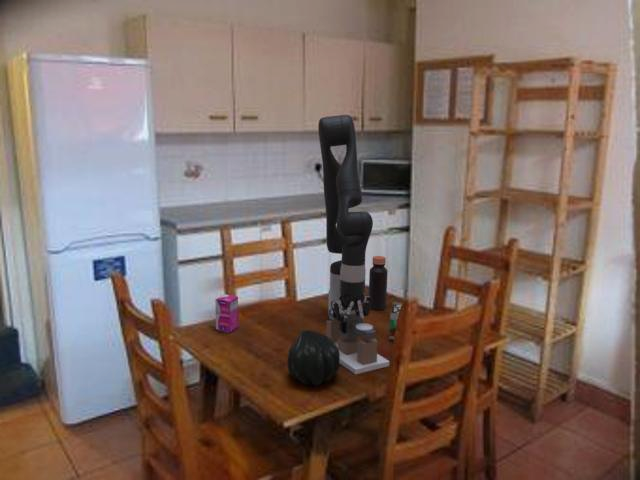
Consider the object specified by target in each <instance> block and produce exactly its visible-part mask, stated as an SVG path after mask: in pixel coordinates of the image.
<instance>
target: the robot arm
mask: <svg viewBox="0 0 640 480" xmlns="http://www.w3.org/2000/svg"><path fill="white" fill-rule="evenodd" d="M317 127H318V137H319V144H320V153H321V160H322V177H323V179H322V180H323V182H322V183H323V194H324V195H323V196H324V205H325V217H326V218H325V219H326V223H325V224H326V225H325V226H326V229H325V230H326V248H327V251H328V252H329V253H331V254H338V255H339V254H341V259H340V260H337V261H333V262H332V263H331V264H330V267H329V272H330V273H329V290H328V303H327V304H328V305H327V306H328V307H327V315H329V310H330V309H332V312H333V317H334V319H336V320H337V321H339V330H340V331H341V332H342V333H343V334H345V333H346V320H347V317H348V315H350V314H356V315H358V316H360V317H361V318H362V323H364V322H363V320H364V319H365V317H368V316H369V315H370V311H371V309H370V308H371V304H372V298H371V297H370V296H369V295H367V294H366V295H365V292H366V275H367V273H366V271H367V270H366V252H367V247H368V243H369V240H370V237H371V234H372V230H373V226H374V221H373V217H372V215H371V214H370V212H368V211H349V209H351V208H356V207H358V206H359V205H361V203H362V201H363V196H362V190H361V185H360V179H359V172H358V171H359V170H358V154H357V153H358V151H357V139H356V128H355V123H354V120H353V117H352V116H351V115H350V114H340V115H331V116H324V117H320V119H319V120H318V125H317ZM338 146H346V149H345V150H346V152H345V155H344V158H343V161H342V163H341V164H340V163H339V161H338V160H337V159H336V158H335V156H334V154H333V152H332V149H331V148H332V147H338ZM339 309H340V310H339ZM345 310H346V311H345ZM328 319H329V320H334V319H333V318H331V317H330V316H328Z"/></svg>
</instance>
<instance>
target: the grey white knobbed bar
mask: <svg viewBox="0 0 640 480" xmlns="http://www.w3.org/2000/svg"><path fill="white" fill-rule="evenodd" d="M339 310H340V309H339ZM345 311H346V310H345ZM327 315H328V314H327ZM329 316H330V317H331V318H333V319H334V317H333V312H332V309H330V310H329V315H328V317H329ZM335 320H336V319H335ZM336 321H337V320H336ZM338 322H339V321H338ZM340 335H342V336H343V337H345V338H346V339H351V338H356V337H358V338H360V337H361V338H363V339H367V340H369V339H376V338H377V331H376V330H375V329H374V325H372V324H370V323H364V322H363V323H362V318H361V317H360V316H358V315H356V313H354V314H350V315H348V317H347V320H346V333H345V334H343V333H342V332H341V331H340Z"/></svg>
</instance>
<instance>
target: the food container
mask: <svg viewBox="0 0 640 480" xmlns="http://www.w3.org/2000/svg"><path fill="white" fill-rule="evenodd" d="M402 304H403V303H400V302H397V301H396V302H395V301H392V309H391V312H390V313H389V316H390V317H389V337H388V339H389V340H388V341H389V342H394V341H393V339H394V335H395V332H396V324H397V319H398V315H399V312H400V309H401V306H402Z"/></svg>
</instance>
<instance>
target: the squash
mask: <svg viewBox="0 0 640 480" xmlns="http://www.w3.org/2000/svg"><path fill="white" fill-rule="evenodd" d="M339 359H340V353H339V350H338V348H337V346H336V344H335V343H334V342H333V340H332V339H330V338H329V337H327V336H326V334H323V333H320V332H317V331H314V330H307V329H303V331H301V333H300V334H299V336H298V337H297V338H296V339H295V341H294V342H293V343H292V344H291V346H290V348H289V350H288V356H287V360H286V361H287V369H288V372H289V374H290V376H292V377H293V378H294V379H296V380H298V381H300V383H302V384H304V385H310V384H312V385H314V386H320V385H321V384H322V383H323V382H324V381H325V382H327V381H331V380H332V379H333V377H334V375H336V374H337V373H338V371H339V368H340V363H339Z"/></svg>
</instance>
